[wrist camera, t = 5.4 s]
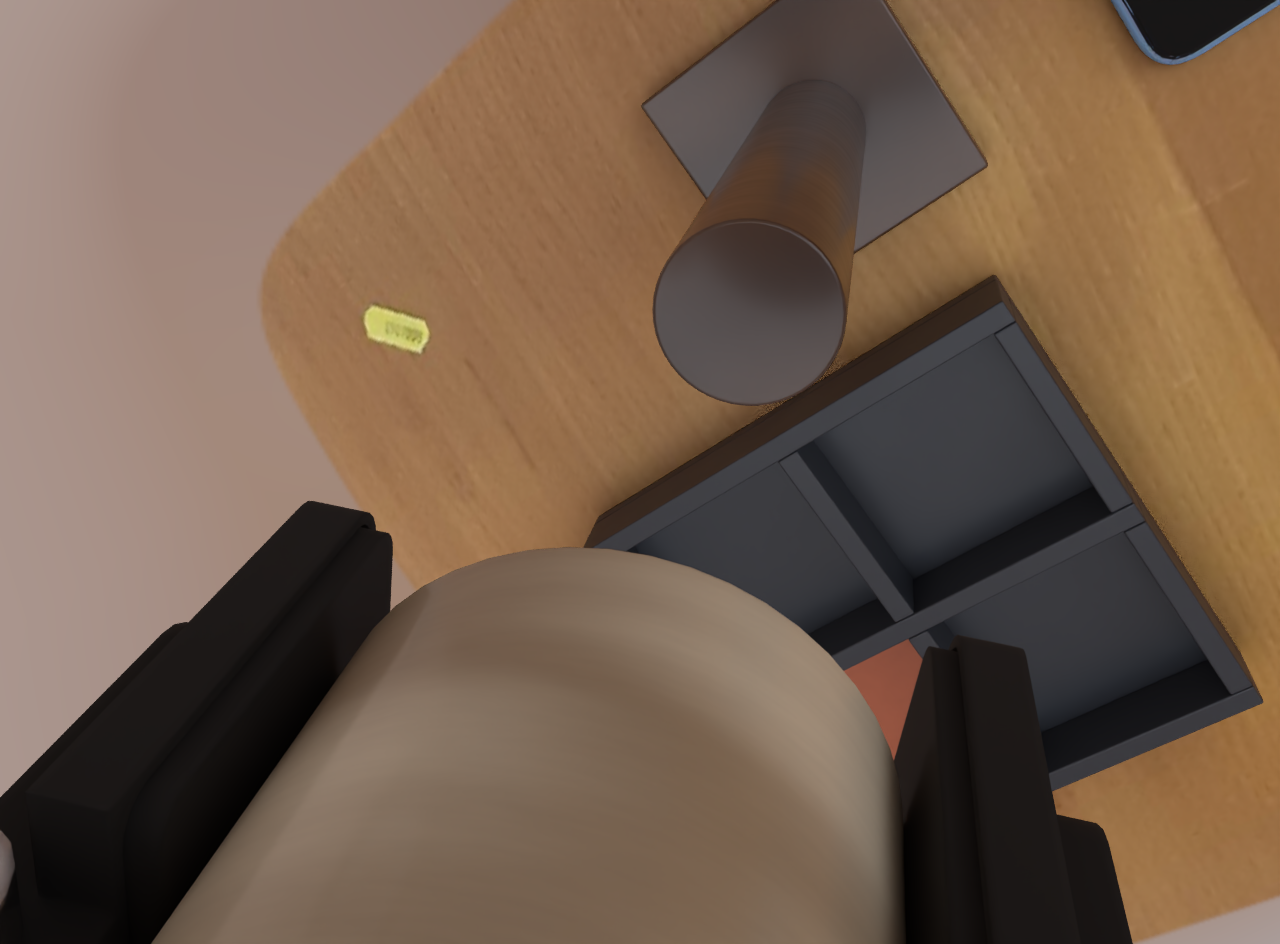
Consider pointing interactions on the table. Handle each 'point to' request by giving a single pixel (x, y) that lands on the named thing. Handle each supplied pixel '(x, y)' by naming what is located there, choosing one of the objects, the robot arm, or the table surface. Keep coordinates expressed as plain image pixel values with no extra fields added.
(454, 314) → the table surface
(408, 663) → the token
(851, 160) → the stand
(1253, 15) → the smartphone
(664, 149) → the table surface
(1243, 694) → the grid
